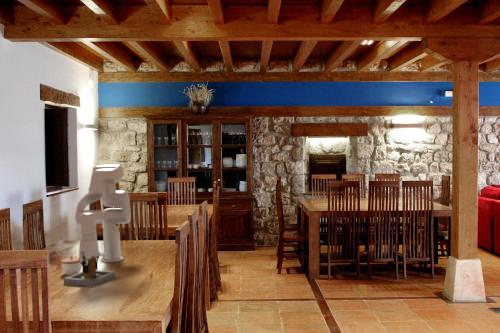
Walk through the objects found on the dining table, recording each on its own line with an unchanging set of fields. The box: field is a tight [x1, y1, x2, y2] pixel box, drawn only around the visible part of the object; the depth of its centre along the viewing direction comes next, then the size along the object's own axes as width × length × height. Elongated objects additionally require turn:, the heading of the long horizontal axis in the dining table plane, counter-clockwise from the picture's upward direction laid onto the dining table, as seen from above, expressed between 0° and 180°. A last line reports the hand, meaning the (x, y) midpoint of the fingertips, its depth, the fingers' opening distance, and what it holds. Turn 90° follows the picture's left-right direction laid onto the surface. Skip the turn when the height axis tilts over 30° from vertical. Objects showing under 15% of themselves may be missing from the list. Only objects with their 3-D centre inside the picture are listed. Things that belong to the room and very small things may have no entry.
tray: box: [63, 269, 117, 288], centre depth 243 cm, size 18×18×3 cm
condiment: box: [82, 257, 102, 279], centre depth 244 cm, size 7×8×12 cm
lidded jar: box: [60, 256, 83, 276], centre depth 259 cm, size 11×11×9 cm
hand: (90, 271), depth 243 cm, fingers closed on condiment, 6 cm apart
